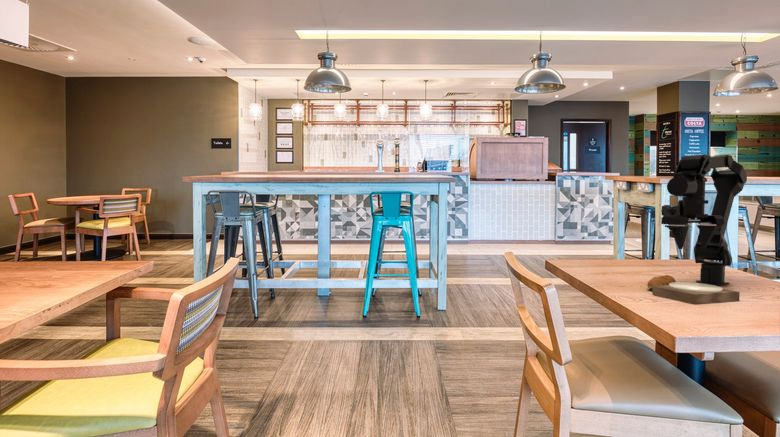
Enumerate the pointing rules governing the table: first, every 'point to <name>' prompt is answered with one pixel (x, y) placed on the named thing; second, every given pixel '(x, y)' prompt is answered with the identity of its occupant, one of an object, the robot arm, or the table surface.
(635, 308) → the table surface
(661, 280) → the pastry
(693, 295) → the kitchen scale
